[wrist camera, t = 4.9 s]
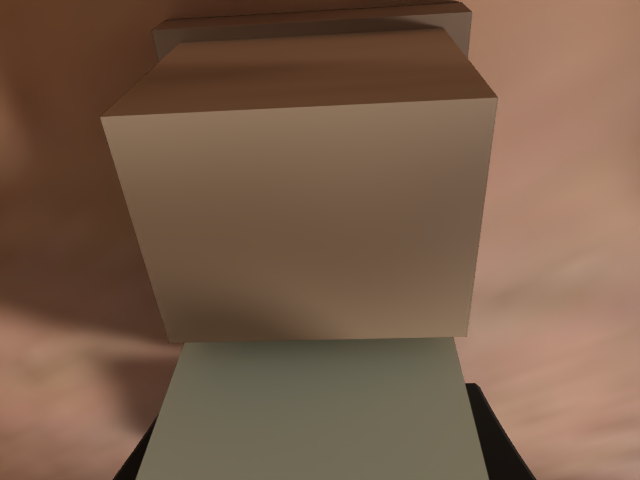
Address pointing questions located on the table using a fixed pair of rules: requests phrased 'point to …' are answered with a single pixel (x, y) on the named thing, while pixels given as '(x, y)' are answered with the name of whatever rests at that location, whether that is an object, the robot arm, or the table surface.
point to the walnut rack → (309, 173)
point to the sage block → (316, 413)
